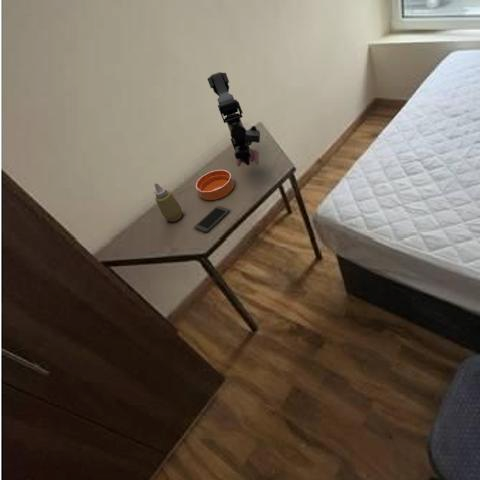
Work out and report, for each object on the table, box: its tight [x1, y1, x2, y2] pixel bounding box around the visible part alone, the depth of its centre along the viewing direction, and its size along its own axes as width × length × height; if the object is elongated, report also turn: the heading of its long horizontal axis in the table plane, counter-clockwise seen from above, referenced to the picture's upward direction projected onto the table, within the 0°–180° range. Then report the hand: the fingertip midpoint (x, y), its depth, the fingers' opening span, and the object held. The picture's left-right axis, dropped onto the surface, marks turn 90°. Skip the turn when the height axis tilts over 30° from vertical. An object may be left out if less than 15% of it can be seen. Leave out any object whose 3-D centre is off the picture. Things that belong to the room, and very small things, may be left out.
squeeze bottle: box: [154, 182, 183, 223], centre depth 163 cm, size 8×8×18 cm
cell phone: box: [194, 206, 230, 233], centre depth 163 cm, size 7×14×1 cm, turn 146°
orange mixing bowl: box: [195, 169, 235, 201], centre depth 177 cm, size 16×16×5 cm
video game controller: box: [236, 148, 260, 168], centre depth 173 cm, size 10×5×7 cm, turn 85°
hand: (248, 160), depth 173 cm, fingers closed on video game controller, 6 cm apart
